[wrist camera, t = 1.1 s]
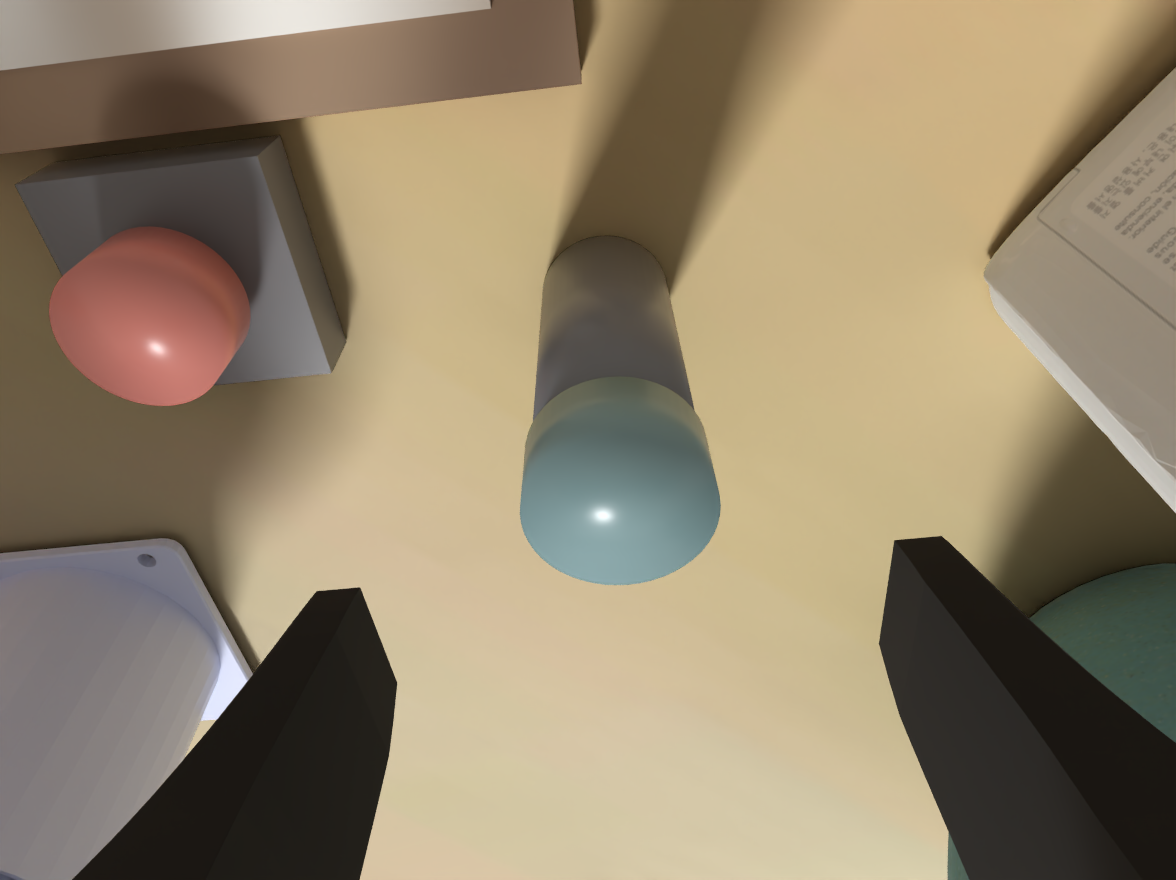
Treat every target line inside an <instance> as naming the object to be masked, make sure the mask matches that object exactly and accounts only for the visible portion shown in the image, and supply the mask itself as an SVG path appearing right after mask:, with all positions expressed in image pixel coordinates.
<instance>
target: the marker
mask: <svg viewBox="0 0 1176 880" xmlns="http://www.w3.org/2000/svg"><path fill="white" fill-rule="evenodd" d="M720 506H721V505H720V495H719V491H718V486H717V482H716V478H715V473H714V469H713V464H712V460H711V456H710V451H709V447H708V443H707V438H706V434H705V431H704V427H703V425H702V423H701V421H700V418H699V417H698V415H697V414H696V412H695V411H694V406H693V401H692V397H691V392H690V388H689V383H688V378H687V374H686V369H685V365H684V360H683V356H682V351H681V346H680V342H679V337H678V333H677V328H676V324H675V319H674V314H673V310H672V305H671V301H670V296H669V291H668V287H667V282H666V279H665V275H664V272H663V270H662V268H661V266H660V265H659V263H658V261H657V260H656V259H655V258H654V256H653V255H652V254H651V253H650V252H649V251H647V250H646V249H645V248H643V247H642V246H641V245H639V244H637V243H635V242H633V241H631V240H628V239H625V238H621V237H616V236H597V237H591V238H588V239H584V240H581V241H579V242H577V243H575V244H573V245H571V246H570V247H568V248H567V249H566V250H564V251H563V252H562V253H561V254H560V255H559V256H558V257H557V258H556V259H555V260H554V262H553V263H552V265H551V266H550V268H549V270H548V272H547V274H546V277H545V280H544V285H543V294H542V307H541V321H540V334H539V348H538V361H537V374H536V388H535V401H534V415H533V423H532V425H531V427H530V430H529V432H528V435H527V440H526V445H525V456H524V468H523V480H522V492H521V504H520V517H521V524H522V528H523V531H524V534H525V536H526V538H527V540H528V542H529V543H530V545H531V546H532V548H533V549H534V551H535V552H536V553H537V554H538V555H539V556H540V557H541V558H542V559H543V560H544V561H546V562H547V563H548V564H549V565H551V566H552V567H554V568H555V569H557V570H559V571H560V572H563V573H565V574H567V575H569V576H571V577H574V578H577V579H580V580H583V581H587V582H591V583H597V584H604V585H629V584H636V583H642V582H647V581H651V580H654V579H657V578H660V577H663V576H666V575H668V574H670V573H672V572H674V571H676V570H678V569H680V568H681V567H683V566H685V565H686V564H687V563H689V562H690V561H691V560H693V559H694V558H695V557H696V556H697V555H698V554H699V553H700V552H701V551H702V550H703V549H704V548H705V546H706V545H707V544H708V543H709V541H710V539H711V538H712V536H713V534H714V532H715V530H716V527H717V525H718V521H719V517H720Z"/></svg>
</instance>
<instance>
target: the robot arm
mask: <svg viewBox="0 0 1176 880" xmlns="http://www.w3.org/2000/svg"><path fill="white" fill-rule="evenodd" d="M146 554H148V555H150V556H152V557H150V556H148V555H146ZM153 557H154V558H153ZM879 645H880V649H881V653H882V656H883V660H884V663H885V667H886V670H887V674H888V678H889V681H890V685H891V688H892V691H893V695H894V698H895V701H896V705H897V708H898V711H899V715H900V717H901V720H902V722H903V725H904V727H905V730H906V732H907V734H908V737H909V739H910V742H911V744H912V746H913V749H914V751H915V754H916V756H917V758H918V761H919V763H920V765H921V768H922V770H923V773H924V775H925V777H926V780H927V782H928V784H929V787H930V789H931V791H932V794H933V796H934V798H935V801H936V803H937V805H938V808H939V810H940V812H941V815H942V817H943V820H944V822H945V824H946V827H947V829H948V831H949V834H950V836H951V838H952V841H953V843H954V845H955V848H956V850H957V852H958V855H959V857H960V859H961V862H962V864H963V866H964V869H965V871H966V873H967V876H968V878H969V880H1176V743H1175V742H1174V741H1173V740H1172V739H1170V738H1169V737H1168V736H1166V735H1165V734H1164V733H1163V732H1161V731H1160V730H1159V729H1157V728H1156V727H1155V726H1154V725H1152V724H1151V723H1150V722H1149V721H1147V720H1146V719H1145V718H1144V717H1142V716H1141V715H1140V714H1139V713H1138V712H1136V711H1135V710H1134V709H1133V708H1131V707H1130V706H1129V705H1128V704H1126V703H1125V702H1124V701H1123V700H1122V699H1120V698H1119V697H1118V696H1117V695H1115V694H1114V693H1113V692H1112V691H1111V690H1109V689H1108V688H1107V687H1106V686H1105V685H1104V684H1102V683H1101V682H1100V681H1099V680H1098V679H1096V678H1095V677H1094V676H1093V675H1092V674H1091V673H1089V672H1088V671H1087V670H1086V669H1085V668H1084V667H1083V666H1081V665H1080V664H1079V663H1078V662H1077V661H1076V660H1075V659H1073V658H1072V657H1071V656H1070V655H1069V654H1068V653H1067V652H1066V651H1064V650H1063V649H1062V648H1061V647H1060V646H1059V645H1058V644H1057V643H1055V642H1054V641H1053V640H1052V639H1051V638H1050V637H1049V636H1047V635H1046V634H1045V633H1044V632H1043V631H1042V630H1041V629H1040V628H1039V627H1038V626H1036V625H1035V624H1034V623H1033V622H1032V621H1031V620H1030V619H1029V618H1028V617H1027V616H1026V615H1025V614H1023V613H1022V612H1021V611H1020V610H1019V609H1018V608H1017V607H1016V606H1015V605H1014V604H1013V603H1012V602H1011V601H1010V600H1009V599H1007V598H1006V597H1005V596H1004V595H1003V594H1002V593H1001V592H1000V591H999V590H998V589H997V588H996V587H995V586H994V585H993V584H992V583H991V582H990V581H989V580H988V579H986V578H985V577H984V576H983V575H982V574H981V573H980V572H979V571H978V570H977V569H976V568H975V567H974V566H973V565H972V564H971V563H970V562H969V561H968V560H967V559H966V558H965V557H964V556H963V555H962V554H961V553H959V552H958V551H957V550H956V549H955V548H954V547H953V546H952V545H951V544H950V543H949V542H948V541H947V540H945V539H944V538H943V537H942V536H938V537H927V538H915V539H904V540H894V547H893V554H892V560H891V567H890V574H889V580H888V587H887V594H886V600H885V607H884V614H883V620H882V627H881V634H880V641H879ZM396 689H397V681H396V679H395V676H394V674H393V671H392V668H391V666H390V663H389V661H388V658H387V656H386V653H385V650H384V648H383V645H382V643H381V640H380V638H379V635H378V632H377V630H376V627H375V625H374V622H373V620H372V617H371V614H370V612H369V609H368V607H367V604H366V601H365V599H364V596H363V594H362V591H361V589H360V588H349V589H338V590H327V591H317V592H316V593H315V594H314V595H313V597H312V598H311V599H310V600H309V602H308V603H307V604H306V605H305V607H304V608H303V609H302V610H301V612H300V613H299V614H298V616H297V617H296V618H295V620H294V621H293V622H292V624H291V625H290V626H289V627H288V629H287V630H286V631H285V633H284V634H283V635H282V637H281V638H280V639H279V641H278V642H277V643H276V645H275V646H274V647H273V649H272V650H271V651H270V653H269V654H268V655H267V656H266V658H265V659H264V660H263V662H262V663H261V664H260V666H259V667H258V668H257V670H256V671H255V672H254V673H252V671H251V670H250V668H249V666H248V664H247V662H246V660H245V659H244V657H243V655H242V653H241V651H240V649H239V648H238V646H237V644H236V642H235V640H234V638H233V637H232V635H231V633H230V631H229V629H228V627H227V626H226V624H225V622H224V620H223V618H222V616H221V614H220V613H219V611H218V609H217V607H216V605H215V603H214V602H213V600H212V598H211V596H210V594H209V592H208V591H207V589H206V587H205V585H204V583H203V581H202V580H201V578H200V576H199V574H198V572H197V570H196V569H195V567H194V565H193V563H192V561H191V559H190V558H189V556H188V554H187V552H186V550H185V549H184V547H183V546H182V545H181V544H180V543H178V542H177V541H175V540H172V539H167V538H158V539H148V540H137V541H126V542H116V543H105V544H94V545H84V546H73V547H62V548H52V549H41V550H30V551H19V552H9V553H0V880H359V879H360V875H361V871H362V867H363V863H364V859H365V855H366V850H367V846H368V842H369V838H370V834H371V830H372V826H373V822H374V817H375V813H376V809H377V805H378V800H379V796H380V792H381V788H382V783H383V779H384V775H385V770H386V766H387V762H388V757H389V751H390V743H391V735H392V727H393V719H394V709H395V699H396ZM214 719H217V720H216V721H215V723H214V724H213V725H212V726H211V728H210V729H209V730H208V731H207V732H206V734H205V735H204V736H203V737H202V739H201V740H200V741H199V742H198V743H197V744H196V746H195V747H194V748H193V749H192V750H191V751H190V753H189V754H188V755H187V756H186V757H185V755H186V753H187V750H188V748H189V746H190V743H191V741H192V739H193V737H194V734H195V732H196V730H197V727H198V725H199V723H200V721H202V720H214ZM184 757H185V758H184Z"/></svg>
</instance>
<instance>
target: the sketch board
mask: <svg viewBox="0 0 1176 880" xmlns="http://www.w3.org/2000/svg"><path fill="white" fill-rule="evenodd" d="M577 84H582V80H581V66H580V56H579V47H578V38H577V28H576V19H575V9H574V0H0V154H5V153H14V152H22V151H30V150H39V149H47V148H55V147H63V146H72V145H80V144H88V143H97V142H105V141H113V140H121V139H130V138H138V137H146V136H155V135H163V134H171V133H179V132H188V131H196V130H204V129H213V128H221V127H229V126H237V125H246V124H254V123H262V122H271V121H279V120H287V119H295V118H304V117H312V116H320V115H329V114H337V113H345V112H353V111H362V110H370V109H378V108H387V107H395V106H403V105H411V104H420V103H428V102H436V101H445V100H453V99H461V98H469V97H478V96H486V95H494V94H503V93H511V92H519V91H527V90H536V89H544V88H552V87H561V86H569V85H577Z"/></svg>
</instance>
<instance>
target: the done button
mask: <svg viewBox="0 0 1176 880" xmlns="http://www.w3.org/2000/svg"><path fill="white" fill-rule="evenodd" d="M49 317H50V323H51V327H52V330H53V333H54V336H55V338H56V340H57V342H58V344H59V346H60V348H61V349H62V351H63V352H64V354H65V355H66V357H67V358H68V359H69V360H70V362H71V363H72V364H73V365H74V366H75V367H76V368H77V369H78V370H79V371H80V372H81V373H82V374H83V375H84V376H86V377H87V378H88V379H89V380H91V381H92V382H94V383H95V384H96V385H98V386H99V387H101V388H103V389H105V390H106V391H108V392H110V393H112V394H114V395H116V396H118V397H121V398H124V399H127V400H129V401H133V402H137V403H140V404H146V405H154V406H172V405H178V404H183V403H186V402H190V401H192V400H194V399H196V398H199V397H200V396H202V395H203V394H205V393H206V392H207V391H208V390H209V389H210V388H211V387H212V386H213V385H214V384H215V382H216V381H217V380H218V378H219V377H220V375H221V374H222V372H223V371H224V369H225V368H226V367H227V365H228V364H229V362H230V361H231V359H232V358H233V356H234V355H235V354H236V352H237V351H238V349H239V348H240V346H241V345H242V344H243V342H244V340H245V338H246V336H247V334H248V330H249V327H250V320H251V315H250V305H249V300H248V297H247V294H246V291H245V289H244V287H243V285H242V283H241V281H240V279H239V278H238V276H237V274H236V273H235V272H234V270H233V269H232V268H231V267H230V265H229V264H228V263H227V262H226V261H225V260H224V259H223V258H222V257H221V256H220V255H218V254H217V253H216V252H215V251H214V250H213V249H211V248H210V247H208V246H207V245H205V244H204V243H202V242H200V241H199V240H197V239H195V238H193V237H191V236H189V235H186V234H184V233H181V232H178V231H175V230H172V229H167V228H161V227H150V226H148V227H136V228H130V229H127V230H124V231H121V232H119V233H117V234H115V235H113V236H112V237H110V238H109V239H108V240H106V241H105V242H104V243H103V244H101V245H100V246H99V247H98V248H96V249H95V250H94V251H93V252H91V253H90V254H89V255H88V256H86V257H85V258H84V259H83V260H82V261H80V262H79V263H78V264H77V265H75V266H74V267H73V268H72V269H70V270H69V271H68V272H67V273H65V274H64V275H63V276H62V277H61V279H60V280H59V281H58V282H57V284H56V286H55V287H54V289H53V292H52V295H51V298H50V304H49Z"/></svg>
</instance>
